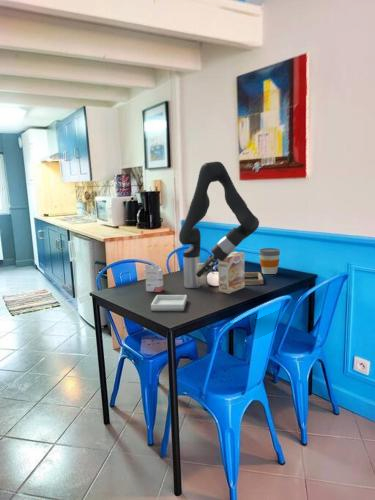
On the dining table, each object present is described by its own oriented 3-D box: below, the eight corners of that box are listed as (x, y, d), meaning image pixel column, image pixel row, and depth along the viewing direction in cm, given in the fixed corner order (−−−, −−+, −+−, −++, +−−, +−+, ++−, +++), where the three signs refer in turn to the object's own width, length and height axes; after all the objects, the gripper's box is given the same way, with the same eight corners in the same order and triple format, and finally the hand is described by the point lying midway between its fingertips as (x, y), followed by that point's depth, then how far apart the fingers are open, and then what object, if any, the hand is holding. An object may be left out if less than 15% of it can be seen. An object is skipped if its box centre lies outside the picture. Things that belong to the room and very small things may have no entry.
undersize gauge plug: (197, 281, 175) (197, 263, 174) (207, 281, 175) (206, 263, 173) (197, 284, 171) (196, 265, 170) (206, 284, 171) (206, 265, 169)
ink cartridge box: (163, 289, 206) (162, 263, 203) (160, 292, 201) (158, 265, 199) (149, 288, 209) (148, 263, 206) (145, 291, 204) (144, 265, 202)
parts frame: (228, 276, 230) (228, 272, 230) (260, 276, 228) (260, 272, 228) (228, 284, 211) (228, 280, 211) (263, 284, 209) (263, 280, 209)
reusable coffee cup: (255, 272, 238) (255, 249, 235) (271, 270, 243) (271, 247, 240) (267, 276, 226) (267, 252, 224) (284, 274, 232) (284, 250, 229)
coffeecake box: (229, 293, 194) (228, 257, 191) (218, 291, 199) (217, 255, 196) (245, 287, 205) (245, 252, 202) (234, 285, 210) (234, 251, 206)
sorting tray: (156, 300, 187) (156, 295, 186) (186, 300, 185) (186, 294, 185) (151, 310, 172) (150, 304, 171) (183, 310, 170) (183, 304, 170)
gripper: (218, 240, 176) (193, 265, 179) (217, 245, 162) (190, 272, 165) (229, 251, 176) (204, 276, 180) (229, 257, 162) (202, 284, 166)
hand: (197, 274), depth 172 cm, fingers closed on undersize gauge plug, 4 cm apart
